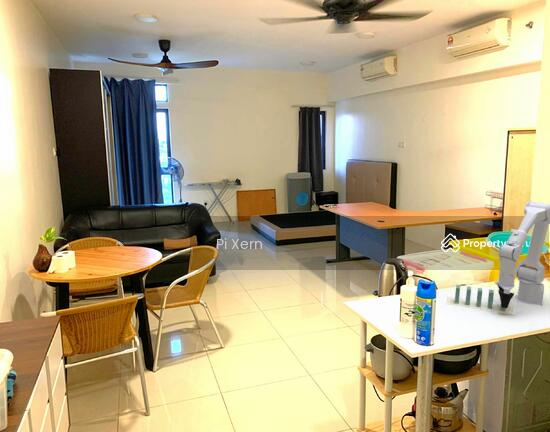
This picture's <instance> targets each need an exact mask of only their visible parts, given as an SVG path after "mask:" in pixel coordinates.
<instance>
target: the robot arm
mask: <svg viewBox="0 0 550 432" xmlns="http://www.w3.org/2000/svg"><path fill="white" fill-rule="evenodd" d="M549 225H550V203H544V202H537V201H531V200H529V201H527V203H525V206H524V217H523V219H522V221H521V223H520V225H519V227H518V229H515V230H513V231H512V233H511V235H510V236H509V238H508V240H507V241H506V242H505V244H501V245H500V247H499V249H498V251H497V252H498V257H499V259H498V261H499V262H500V265H499V273H498V281H497V280H496V281H494V285H497V288H498V290H497V292H498V295H499V301H500V305H501V307H502V308H507V307H508V306H510V305H509V304H510V302H511V300H512V298H513V297H514V296H515V298H516V301H517V302H518V303H522V304H523V303H524V304H531V305H536V306H537V305H538V306H542V307H543V299H544V295H545V294H544V293H545V285H544V283H543V282H544V280H545V276H546V267H545V266H544V264H542V263H541V261H540V260H541V257H542V253H543V248H544V243H545V240H546V236H547V232H548V228H549ZM532 228H533V229H532ZM531 229H532V234H531V237H530V241H529V246H528V251H527V254H526V258H524V259H523V260H521V261H519V262H518V260H519V259H520V257H521V254H522V251H523V246H524V245H525V243H527V239H528V237H529V236H528V233H529V232H530V230H531ZM517 262H518V266H517ZM515 278H517V281H518V283H519V284H518V289H517V291H518V292H517V295H515V293H514V292H511V290H512V289H513V288H515Z"/></svg>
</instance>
